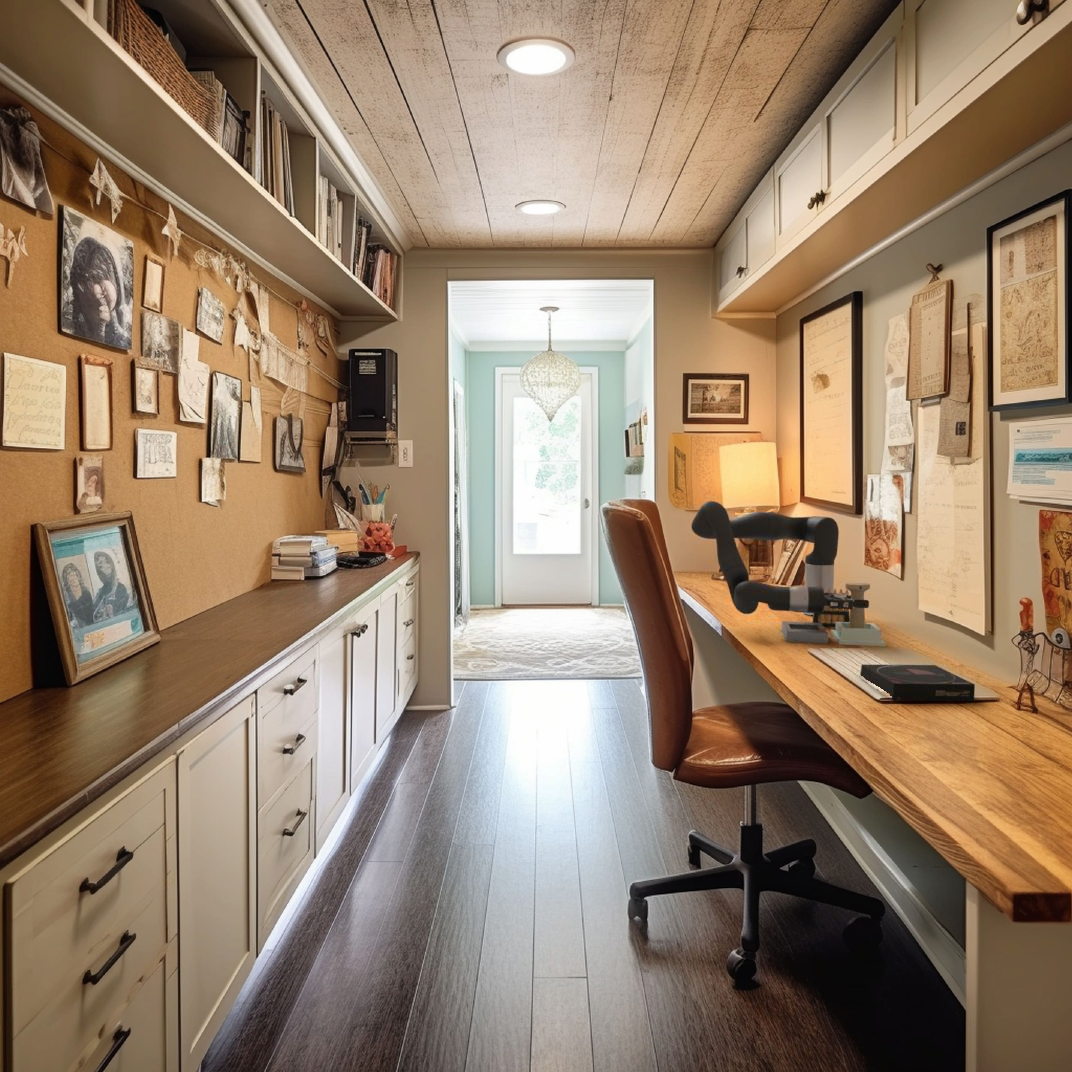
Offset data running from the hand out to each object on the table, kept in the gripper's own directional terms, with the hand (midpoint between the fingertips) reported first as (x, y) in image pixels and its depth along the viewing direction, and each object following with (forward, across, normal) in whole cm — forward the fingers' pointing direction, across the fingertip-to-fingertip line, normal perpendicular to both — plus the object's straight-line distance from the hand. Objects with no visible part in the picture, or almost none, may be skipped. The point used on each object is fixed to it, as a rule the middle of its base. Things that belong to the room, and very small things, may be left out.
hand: (865, 601), depth 216 cm
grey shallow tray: (-2, 0, +11) cm, 11 cm away
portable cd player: (+1, -53, +12) cm, 54 cm away
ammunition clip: (-6, +19, +11) cm, 23 cm away
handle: (-2, 0, +10) cm, 10 cm away
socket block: (-16, 0, +11) cm, 20 cm away
